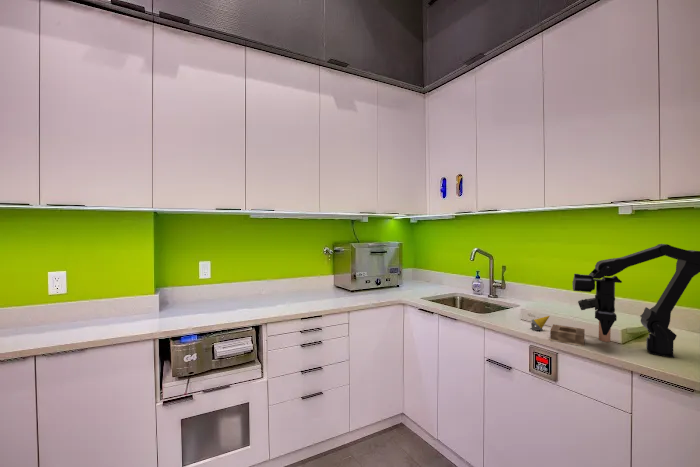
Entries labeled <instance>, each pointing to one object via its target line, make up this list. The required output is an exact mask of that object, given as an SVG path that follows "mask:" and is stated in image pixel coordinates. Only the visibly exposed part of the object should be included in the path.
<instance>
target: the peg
mask: <svg viewBox="0 0 700 467" xmlns="http://www.w3.org/2000/svg"><path fill="white" fill-rule="evenodd" d="M611 328H612V327H611ZM611 328H610V330H609V332H608V334H607V335H603V332H602V328H601V323H600V321H599V320H598V340H599V341H601V342H605V343H610V342H611V335H612V334H611V333H612V332H611V330H612V329H611Z"/></svg>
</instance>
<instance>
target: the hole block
mask: <svg viewBox="0 0 700 467" xmlns="http://www.w3.org/2000/svg"><path fill="white" fill-rule="evenodd" d="M549 332H550V333H549V334H550V335H549V336H550V339H549V341H552V342H557V343H563V344H568V345H569V344H570V345H575V346H580V347H584V346H585V335H586V334H585V328H580V327H573V326H567V325H559V324H552V327H551V328H550V331H549Z"/></svg>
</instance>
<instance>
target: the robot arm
mask: <svg viewBox="0 0 700 467" xmlns="http://www.w3.org/2000/svg"><path fill="white" fill-rule="evenodd" d="M660 257H661V258H662V257H668V258H671V259H674V260H676V263H675V264H676V265H675V272H674V273H673V275H672V277H671V279H670V281H669V282H668V283H667V285H666V288H664V290H663V292H662V294H661V295H660V296H659V299H658V300H657V302H656V304H655V305H654V306H653V307H651V308H648V307H645V308H644V309H643V312H642V313H641V315H639V317H640V323H641V325H642V326H643V327H644V328H645V329H646V330H647V333H648V337H646V342H645V345H646V350H647V351H648V353H649V354H650V355H658V356H664V357H669V358H675V354H674V342H675V340H676V338H677V336H678V335H677V334H676V333H675V332H674V331H672V330H671V329H670V328H669V326H670V324H671V315H672V311H673V310H674V308H675V306H676V305H677V303H678V302H679V300H680V299H681V297H682V295H683V294H684V292H685V290H687V287H688V286H689V284H690V282H691V281H692V279H693V278H694V277H695V276H696V275H698V274H699V273H700V250H694V249H693V250H692V249H688V250H687V249H684V248H679V247H676V246H673V245H670V244H668V243H667V244H666V243H659V244H656V245H655V246H651V247H649V248H648V247H647V248H646V249H643V250H639V251H635V252H633V253H630V254H627V255H625V256H621V257H616V258H615V257H613V258H608V259H602V260H599V261H597V262H596V264H595V265H594V268H593V270H592V271H591V272H589V274H580V273H574V274H573V277H572V278H573V281H572V289H573V292H583V293H585V292H586V293H592V291H595V295H594V297H592V298H585V299H581V300H578V301H577V304H578V306H579V308H580V310H581V311H585V310H588V309H594V319H597V320H598V322H599V321H600V323H601V328H602V332H603V335H607V334H608V332H609V330H610V328H612V327H613V325H614V323H615V322H617V318H618V317H617V313H616V307H615V304H616V284H617V283H618V284H619V283H620V284H621V283H623V281H622V280H621V279H620V278H618V276H617V274H619V273H621V272H623V271H624V270H626V269H628V268H630V267H632V266H636V265H639V264H641V263H642V264H643V263H645V262H649V261H652V260H655V259H658V258H660Z"/></svg>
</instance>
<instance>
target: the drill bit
mask: <svg viewBox="0 0 700 467" xmlns="http://www.w3.org/2000/svg"><path fill="white" fill-rule="evenodd" d="M549 318H550V315H546V316H544V317H539V318H536V319H535V318H533V319H531V323H530V325H531V326H530V327H531V328H530V330H532V331H535V332H536V331H538V330H539V331H542V330H543V329H544V326H545V325H546V323H547V321H548V320H549Z"/></svg>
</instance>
